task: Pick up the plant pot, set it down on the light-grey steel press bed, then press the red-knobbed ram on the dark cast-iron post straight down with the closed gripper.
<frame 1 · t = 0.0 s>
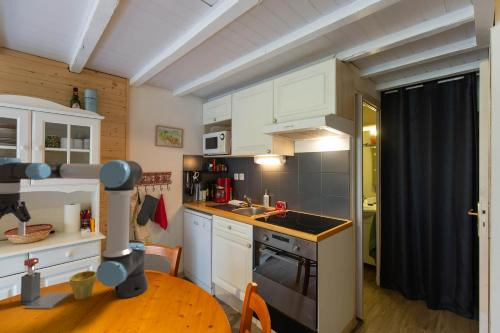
hand: (7, 240, 105), 28 cm above the table, fingers open, 13 cm apart
plant pot: (83, 296, 113), on the table
ram: (31, 273, 108), point 12 cm above the table, slide at 0.0 cm
press base: (43, 301, 108), on the table
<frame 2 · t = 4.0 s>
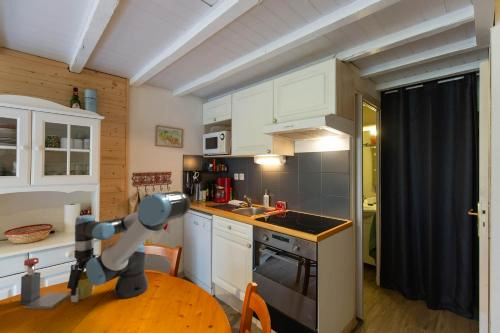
hand: (83, 295, 113), 0 cm above the table, fingers closed on plant pot, 10 cm apart
plant pot: (82, 296, 113), on the table, touching gripper
everything else where it was.
when the fingers open (3 cm above the table, at t = 9.1 s): plant pot drops 1 cm, resting on press base.
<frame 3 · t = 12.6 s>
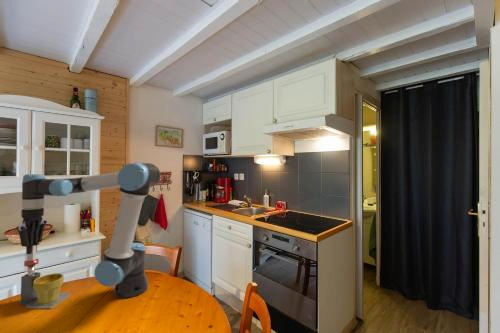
hand: (31, 260, 108), 19 cm above the table, fingers closed
plant pot: (48, 300, 107), point 1 cm above the table, touching press base
ram: (31, 274, 108), point 12 cm above the table, slide at 0.3 cm, touching gripper
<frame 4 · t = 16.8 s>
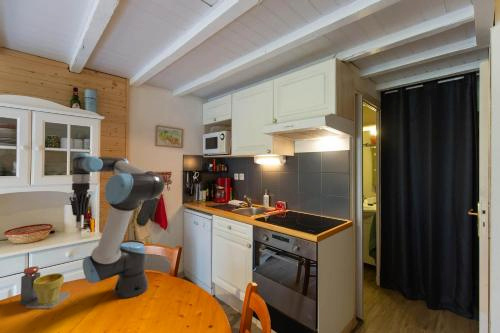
hand: (79, 227, 124), 29 cm above the table, fingers closed
ram: (30, 282, 108), point 8 cm above the table, slide at 3.9 cm
everything else where it was.
at the end: plant pot inside the target area on the press base (0.6 cm from its centre), point 0.8 cm above the press base's base; plant pot tilted 0°; ram slide at 3.9 cm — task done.
